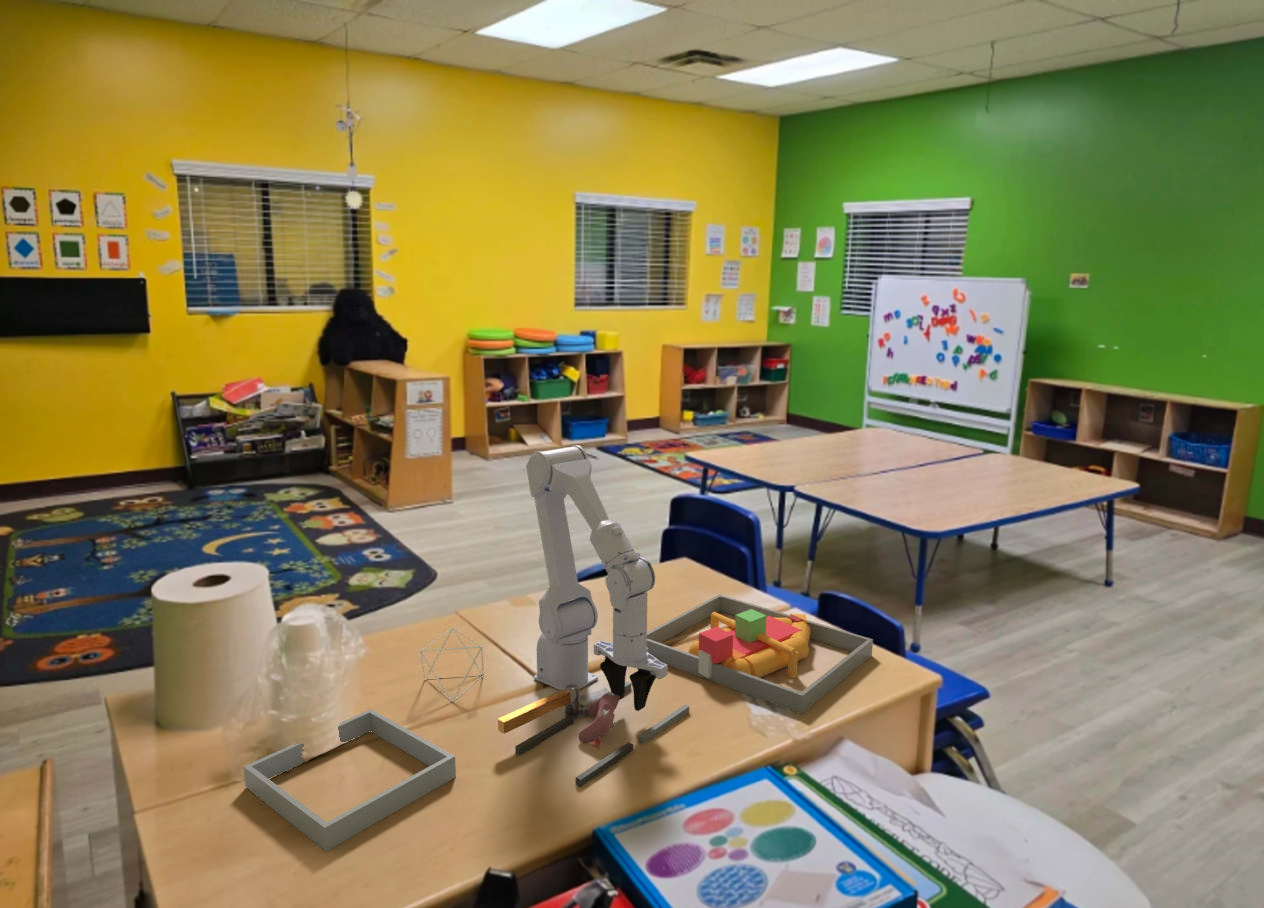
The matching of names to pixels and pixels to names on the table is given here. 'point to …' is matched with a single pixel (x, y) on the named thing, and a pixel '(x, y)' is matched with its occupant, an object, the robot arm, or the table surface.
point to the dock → (614, 756)
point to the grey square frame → (369, 810)
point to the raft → (753, 643)
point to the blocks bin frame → (745, 681)
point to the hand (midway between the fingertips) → (629, 703)
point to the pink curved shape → (600, 717)
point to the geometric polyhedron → (451, 649)
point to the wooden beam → (542, 709)
